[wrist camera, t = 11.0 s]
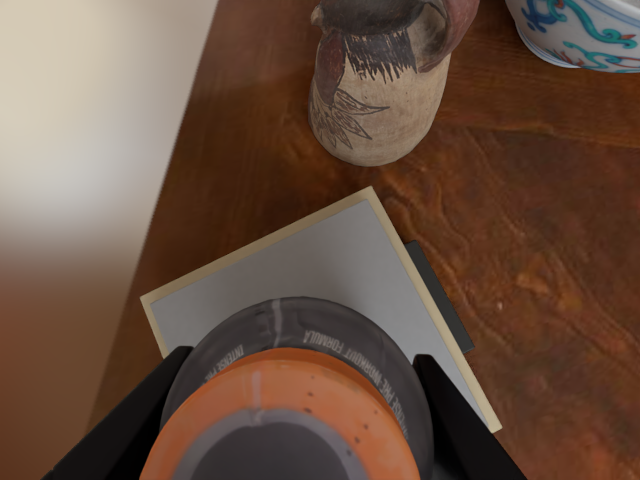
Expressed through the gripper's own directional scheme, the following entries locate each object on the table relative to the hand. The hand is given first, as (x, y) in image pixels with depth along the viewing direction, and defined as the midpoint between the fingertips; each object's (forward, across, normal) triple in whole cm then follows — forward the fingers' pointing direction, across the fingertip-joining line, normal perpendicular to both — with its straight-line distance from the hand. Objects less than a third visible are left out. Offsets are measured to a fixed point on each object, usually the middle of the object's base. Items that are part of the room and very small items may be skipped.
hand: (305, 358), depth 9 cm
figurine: (+16, -3, -2) cm, 16 cm away
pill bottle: (+4, 0, +6) cm, 7 cm away
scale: (+6, 0, +8) cm, 9 cm away
